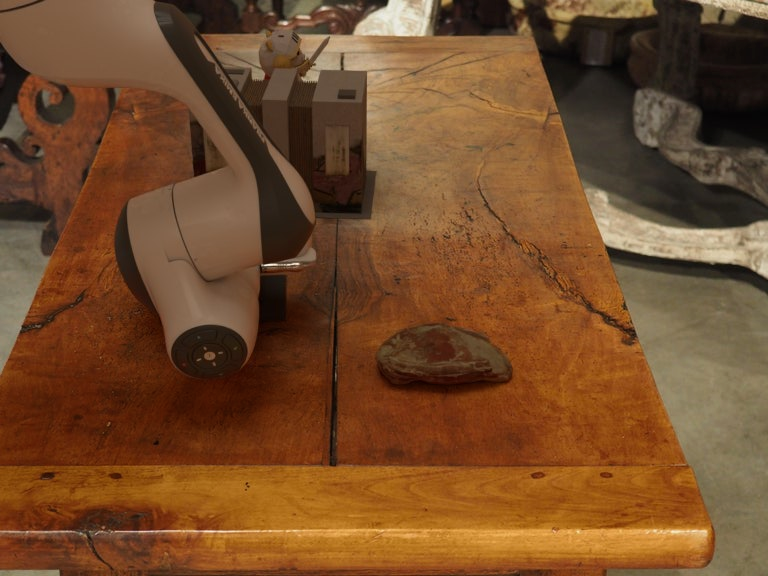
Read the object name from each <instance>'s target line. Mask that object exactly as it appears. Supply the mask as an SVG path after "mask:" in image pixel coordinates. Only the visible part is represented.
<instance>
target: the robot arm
mask: <svg viewBox="0 0 768 576" xmlns="http://www.w3.org/2000/svg"><path fill="white" fill-rule="evenodd" d="M0 44H1V45H2V47H3V48H4V50H5V51H6V52H7V53H8V55H9V57H11V58H12V59H13V61H14V62H15V63H16V64H18V66H20V67H21V68H22V69H23V70H25V71H27V72H29V73H30V74H32V75H33V76H36V77H38V78H40V79H43V80H45V81H48V82H51V83H53V84H57V85H61V86H66V87H71V88H79V89H129V90H139V91H140V90H141V91H148V92H155V93H159V94H162V95H165V96H167V97H168V96H169V97H171V98H173V99H175V100H177V101H178V102H180V103H181V104H182V105H184V106H185V107H186V108H187V109H188V111H189V110H190V111H191V112H192V114H193V115H194V117H195V118H196V119H197V121H198V122H199V124H200V125H201V126H202V128H203V129H204V131H205V132H206V134H207V135H208V136H209V138H210V139H211V141H212V142H213V143H214V145H215V146H216V148H217V149H218V151H219V152H220V153H221V155H222V156H223V158H224V159H225V161H226V162H227V163H228V165H227V166H226V167H224V168H221V169H218V170H215V171H212V172H209V173H206V174H203V175H200V176H197V177H194V176H193V177H192V178H188V179H185V180H183V181H180V182H174V183H171V184H167V185H165V186H161V187H159V188H156V189H152V190H150V191H147V192H144V193H141V194H139V195H137V196H134V197H131V198H130V197H129V198H128V199H127V201H126V202H125V203H124V205H123V206H122V208H121V210H120V213H119V215H118V218H117V222H116V225H115V231H114V237H113V245H114V246H113V247H114V255H115V261H116V264H117V267H118V270H119V272H120V275H121V277H122V279H123V281H124V283H125V285H126V287H127V289H128V290H129V291H130V293H131V295H133V297H134V298H135V299H136V301H137V302H139V303H140V304H141V305H142V306H143V307H145V308H146V309H147V310H148V311H150V312H151V313H152V314H154V315H155V316H158V317H159V316H160V318H161V322H162V325H161V326H162V330H163V334H164V343H165V348H166V352H167V355H168V359H169V360H170V362H171V364H172V365H173V367H175V369H176V370H177V371H178V372H180V373H181V374H183V375H185V376H187V377H190V378H192V379H196V380H201V381H213V380H218V379H223V378H225V377H226V378H227V377H229V376H231V375H233V374H236V373H237V372H239V371H240V370H241V369H242V368H243V367H244V366H245V365H246V364H247V363H248V362H249V360H250V358H251V356H252V354H253V352H254V349H255V345H256V341H257V338H258V330H259V322H260V321H259V301H258V297H259V292H260V276H264V275H286V276H290V275H297V274H301V273H303V272H304V271H306V269H308V268H313V267H315V266H316V265H317V262H318V253H317V252H316V249H315V248H313V232H314V230H315V228H316V225H317V217H315V210H314V205H313V201H312V197H311V195H310V192H309V190H308V188H307V186H306V184H305V182H304V180H303V179H302V177H301V176H300V175H299V173H298V172H297V171H296V170H295V168H294V167H293V166H292V165H291V163H290V162H289V161H288V159H287V158H286V157H285V155H284V154H283V153H282V152H281V150H280V149H279V148H278V147H277V146H276V144H275V143H274V142H273V140H272V139H271V138H270V136H269V135H268V133H267V132H266V130H265V129H264V127H263V126H262V124H261V123H260V121H259V120H258V118H257V117H256V115H255V114H254V112H253V111H252V109H251V108H250V106H249V105H248V103H247V102H246V100H245V99H244V97H243V96H242V94H241V93H240V91H239V90H238V88H237V87H236V85H235V84H234V82H233V81H232V79H231V78H230V76H229V75H228V73H227V72H226V70H225V69H224V67H225V66H223V64H222V62H221V61H220V60H219V58H218V57H217V56H216V54H215V53H214V51H213V50H212V48H211V47H210V45H209V44H208V42H207V41H206V40H205V39H204V37H203V36H202V34H201V33H200V32H199V31H198V29H197V28H196V27H195V25H194V23H192V22H191V21H190V19H189V18H188V17H187V16H186V15H185V13H183V12H182V11H181V10H180V9H179V8H178V7H177V6H176V5H174V4H172V3H166V2H161V1H156V0H0Z"/></svg>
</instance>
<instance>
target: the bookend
mask: <svg viewBox="0 0 768 576" xmlns="http://www.w3.org/2000/svg"><path fill="white" fill-rule="evenodd" d="M223 67H224V69H225V70H226V72H227V73H228V75H229V76H230V78H231V79H232V81H233V82H234V84H235V85H236V87H237V88H238V90H239V91H240V93H241V94H242V96H243V97H244V99H245V100H246V102H247V103H248V105H249V106H250V108H251V109H252V111H253V112H254V114H255V115H256V117H257V118H258V120H259V121H260V123H261V124H262V126H263V127H264V129H265V130H266V132H267V133H268V135H269V136H270V138H271V139H272V140H273V142H274V143H275V144H276V146H277V147H278V148H279V149H280V150H281V152H282V153H283V154H284V155H285V157H286V158H287V159H288V161H289V162H290V163H291V165H292V166H293V167H294V168H295V170H296V171H297V172H298V173H299V175H300V176H301V177H302V179H303V180H304V182H305V184H306V186H307V188H308V190H309V192H310V195H311V197H312V201H313V205H314V210H315V218H324V219H325V218H326V219H330V218H331V219H356V220H357V219H360V220H372V215H373V214H372V213H373V206H374V195H375V189H376V179H377V170H367V154H368V153H367V147H368V146H367V142H368V141H367V140H368V139H367V138H368V137H367V136H368V132H367V131H368V71H367V70H352V69H351V70H348V69H320V70H319V74H318V78H317V80H303V81H302V82H301V81H300V82H299V80H298V69H282V68H275V69H274V71H273V74H272V76H271V79H270V80H269V82H268V80H267V81H266V80H265V81H264V78H263V79H261V78H260V79H255V78H254V79H253V71H252V67H241V66H240V67H237V66H223ZM188 121H189V130H190V131H189V132H190V144H191V146H190V147H191V157H192V169H193V170H192V171H193V178H194V177H197V176H200V175H203V174H206V173H209V172H212V171H215V170H218V169H221V168H224V167H226V166H227V165H228V163H227V162H226V161H225V159H224V158H223V156H222V155H221V153H220V152H219V151H218V149H217V148H216V146H215V145H214V143H213V142H212V141H211V139H210V138H209V136H208V135H207V134H206V132H205V131H204V129H203V128H202V126H201V125H200V124H199V122H198V121H197V119H196V118H195V117H194V115H193V114H192V112H191V111H190V110H189V109H188Z"/></svg>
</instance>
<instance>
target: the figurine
mask: <svg viewBox="0 0 768 576" xmlns="http://www.w3.org/2000/svg"><path fill="white" fill-rule="evenodd" d="M265 36H266V38H265V39H264V40H263V41H262V43H261V44H260V46H259V49H258V61H259V65H260V68H261V71H263V73H264V76H263V79H264V81H265V80H266V81H267V80H268V82H269V80H270V79H271V76H272V74H273V71H274V69H275V68H282V69H298V80H299V82H300V81H301V82H302V81H304V79H302V78H304V77H306V76H307V75H308V74H307V73H308V72H309V70H311V68H313V67H316V66H317V63H316V61H317V59H318V58H319V56H320V55H321V53H322V52H323V51H324V49H325V48H326V47H327V46H328V44H329V41H330V39H331V36H330V35H329V36H327V37H326V38H324V39H323V40H322V42H321V43H320V44H319V46H318V47H317V48H316V50H315V51H314V52H313V54H312V55H311V57H309V56H307V57H306V54H305V53H303V50H302V49H301V44H302V40H303V39H302V38H301V37H300V36H299V35H298V33H297V32H295V30H294V29H277V30H274V31H270V30H267V29H266V33H265Z"/></svg>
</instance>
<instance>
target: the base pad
mask: <svg viewBox="0 0 768 576" xmlns="http://www.w3.org/2000/svg"><path fill="white" fill-rule="evenodd" d="M286 277H287V275H264V276H260V292H259V297H258V301H259V322H281V321H283V322H284V321H287V281H286V279H287V278H286ZM158 322H159V324H158V325H161V326H163V325H162V322H161V318H160V316H158Z"/></svg>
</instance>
